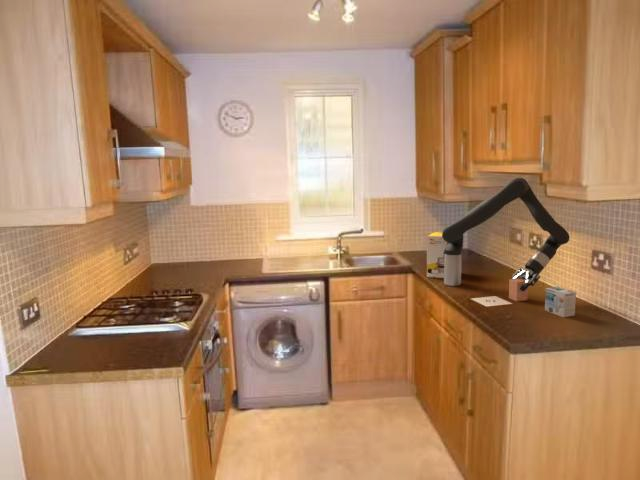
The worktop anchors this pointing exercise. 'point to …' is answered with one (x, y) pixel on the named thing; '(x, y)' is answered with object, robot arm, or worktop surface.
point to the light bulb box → (560, 301)
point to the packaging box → (435, 255)
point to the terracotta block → (517, 290)
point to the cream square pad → (491, 301)
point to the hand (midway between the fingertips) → (515, 288)
